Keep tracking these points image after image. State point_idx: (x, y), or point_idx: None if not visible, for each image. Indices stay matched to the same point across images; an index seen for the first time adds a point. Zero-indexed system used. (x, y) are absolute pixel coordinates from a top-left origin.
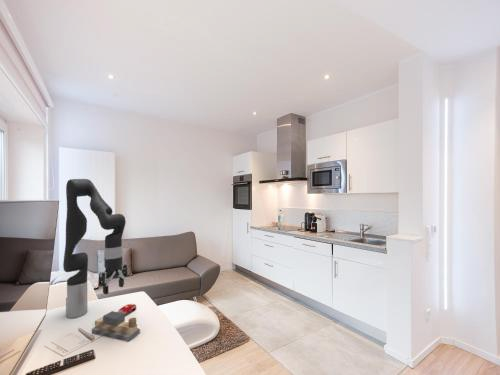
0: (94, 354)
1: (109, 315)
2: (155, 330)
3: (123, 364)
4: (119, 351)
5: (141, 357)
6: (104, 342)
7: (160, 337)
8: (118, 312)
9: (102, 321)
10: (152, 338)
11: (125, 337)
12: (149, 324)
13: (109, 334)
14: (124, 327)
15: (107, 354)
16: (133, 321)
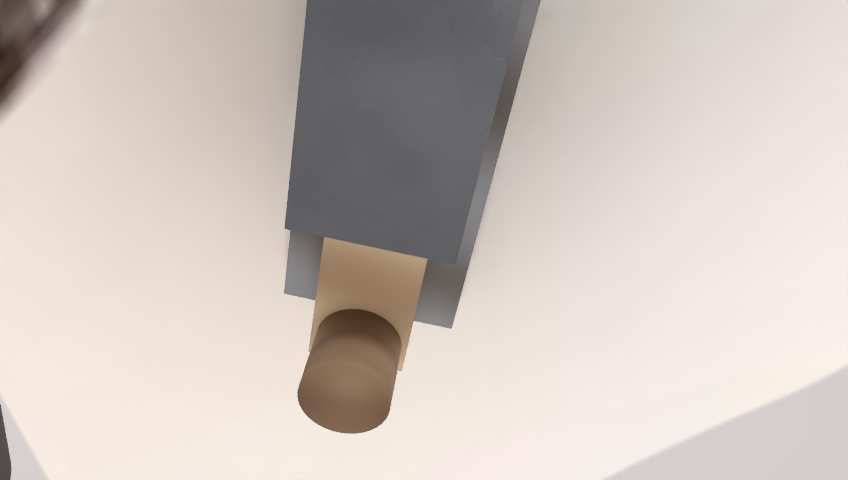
0: (29, 66)
1: (354, 61)
2: (512, 405)
3: (41, 365)
4: (150, 264)
5: (148, 437)
6: (223, 28)
7: (407, 470)
8: (478, 150)
9: None
10: (383, 424)
11: (289, 257)
12: (630, 316)
13: None
14: (320, 269)
15: (79, 189)
16: (320, 414)
